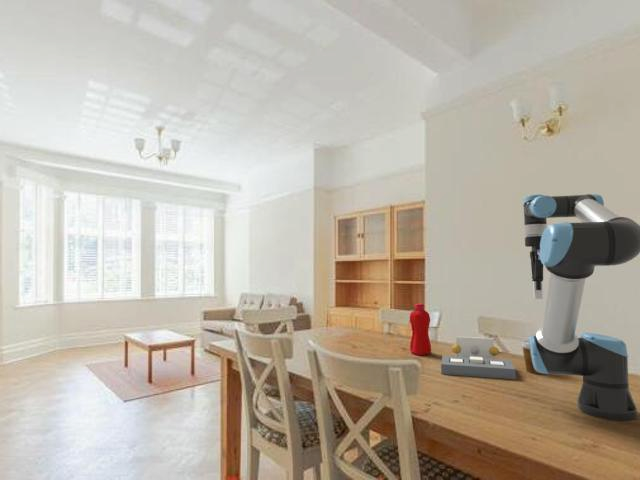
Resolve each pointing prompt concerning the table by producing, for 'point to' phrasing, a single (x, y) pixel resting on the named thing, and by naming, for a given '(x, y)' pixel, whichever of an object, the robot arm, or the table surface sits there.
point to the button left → (456, 360)
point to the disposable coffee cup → (528, 358)
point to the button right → (496, 363)
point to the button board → (478, 368)
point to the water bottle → (420, 331)
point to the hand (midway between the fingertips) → (538, 298)
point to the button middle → (476, 360)
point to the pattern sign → (475, 347)
